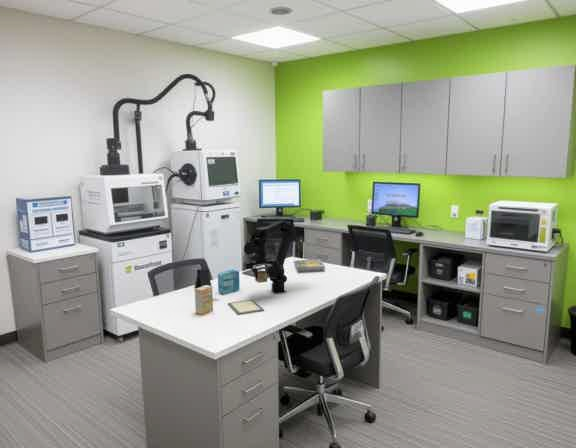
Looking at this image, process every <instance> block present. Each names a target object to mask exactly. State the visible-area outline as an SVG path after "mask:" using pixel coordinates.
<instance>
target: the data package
mask: <svg viewBox="0 0 576 448" xmlns="http://www.w3.org/2000/svg"><path fill="white" fill-rule="evenodd" d="M217 290H218V293H220V294H223V295H227V294H231V293H234V292H238V291H239V290H240V272H239V271H238V270H236V269H229V270H228V269H227V270H225V271H220V272H218V273H217Z"/></svg>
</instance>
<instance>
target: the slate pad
mask: <svg viewBox="0 0 576 448" xmlns="http://www.w3.org/2000/svg"><path fill="white" fill-rule="evenodd" d="M227 305H228V306H229V308H231V310H232V311H233V312H234V313H235V314H236V315H237V316H240V315H247V314H253V313H259V312H261V313H262V312H265V309H264V308H263V307H262V306H261V305H260V304H259V303H257V302H256V301H255V300H254V299H246V300H240V301H239V300H238V301H232V302H227Z"/></svg>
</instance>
